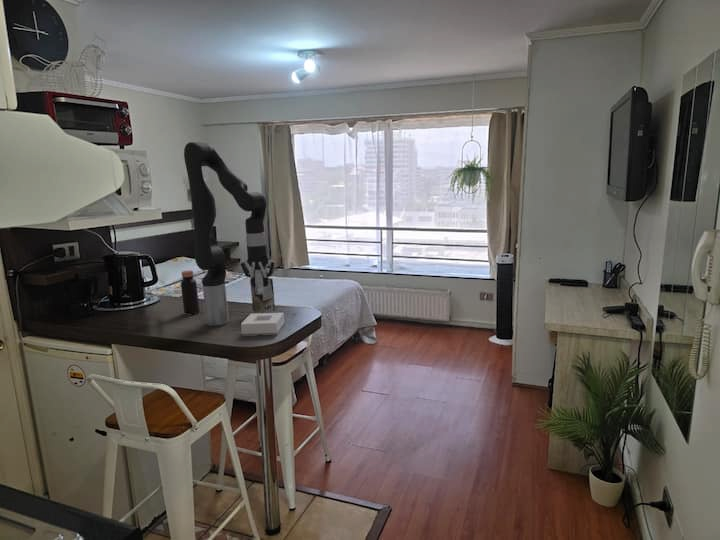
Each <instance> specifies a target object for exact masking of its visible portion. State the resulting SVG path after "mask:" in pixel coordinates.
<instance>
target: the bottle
mask: <svg viewBox="0 0 720 540" xmlns="http://www.w3.org/2000/svg"><path fill="white" fill-rule="evenodd" d="M181 278H182V280H181V282H180V288H181V297H182V305H183V313H186V314H194V315H196V314H195V313H198V314H199V313H200V302H199V294H198V285H197V280H195V279H194V270H182V271H181Z"/></svg>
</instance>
